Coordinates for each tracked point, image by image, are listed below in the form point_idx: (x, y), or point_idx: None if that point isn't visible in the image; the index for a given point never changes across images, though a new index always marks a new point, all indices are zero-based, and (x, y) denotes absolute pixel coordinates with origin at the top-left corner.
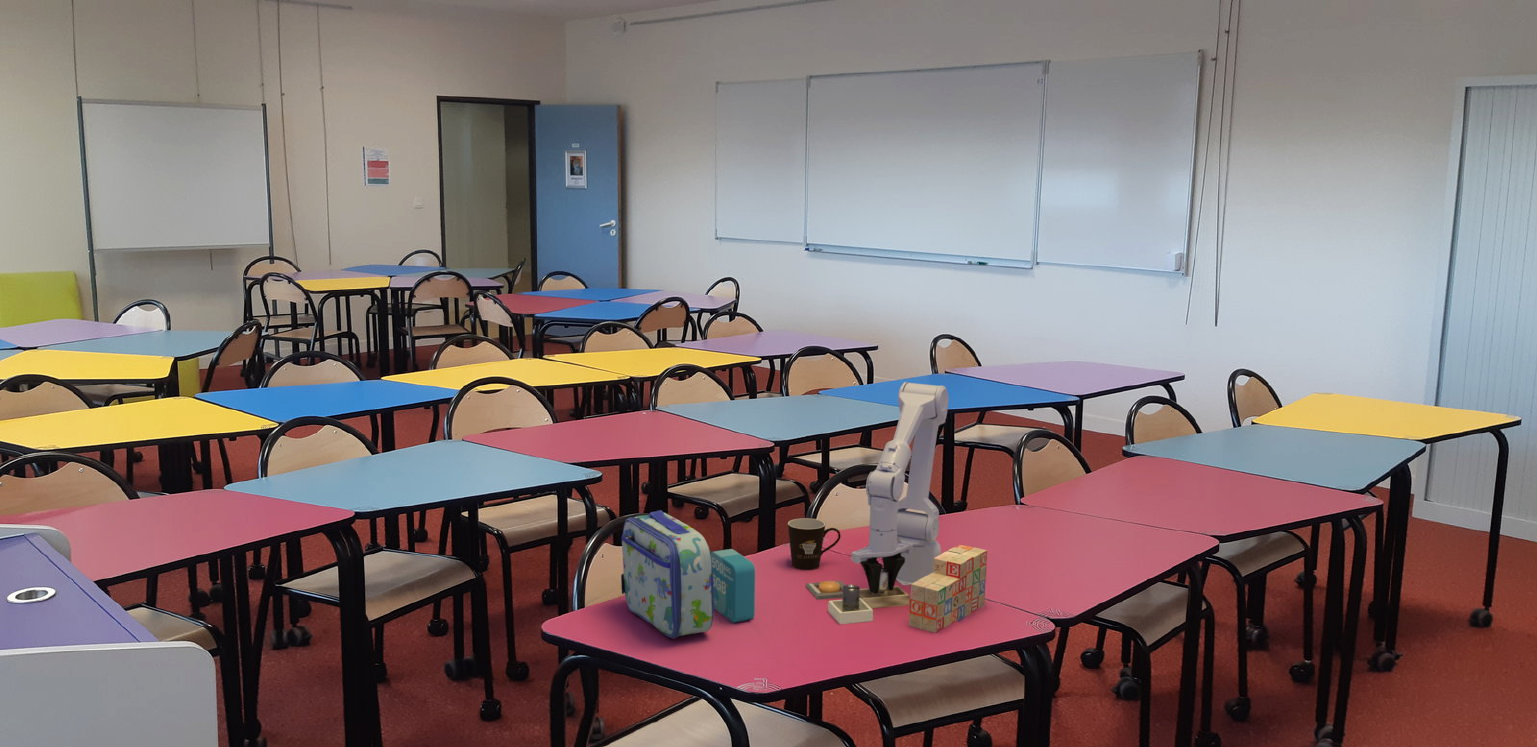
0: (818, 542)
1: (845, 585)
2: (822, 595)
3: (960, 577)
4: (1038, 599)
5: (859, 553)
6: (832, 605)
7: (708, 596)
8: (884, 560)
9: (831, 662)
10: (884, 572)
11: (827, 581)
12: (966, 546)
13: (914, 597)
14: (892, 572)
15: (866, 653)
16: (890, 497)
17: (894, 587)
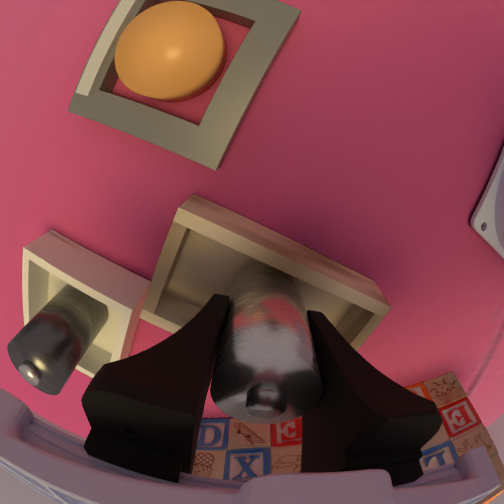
0: None
1: (19, 342)
2: (86, 112)
3: None
4: (488, 416)
5: (21, 472)
6: (23, 282)
7: None
8: (346, 414)
9: (6, 378)
10: (255, 417)
11: (187, 12)
12: (497, 494)
13: None
14: (306, 420)
15: (56, 404)
16: None
17: (365, 307)
